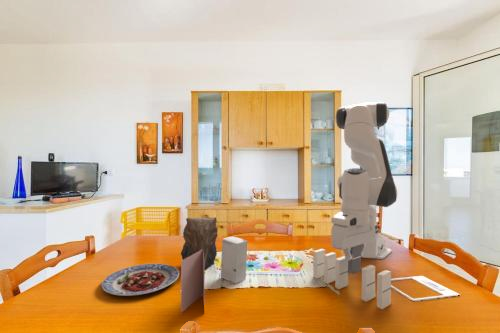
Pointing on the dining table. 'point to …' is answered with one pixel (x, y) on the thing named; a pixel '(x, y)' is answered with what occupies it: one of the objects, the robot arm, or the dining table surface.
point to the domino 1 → (318, 263)
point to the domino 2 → (329, 267)
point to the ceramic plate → (140, 279)
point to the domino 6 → (383, 289)
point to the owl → (200, 238)
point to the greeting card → (192, 279)
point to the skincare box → (233, 259)
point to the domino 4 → (355, 260)
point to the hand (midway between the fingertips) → (354, 258)
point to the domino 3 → (341, 272)
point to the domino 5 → (368, 283)
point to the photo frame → (430, 284)
